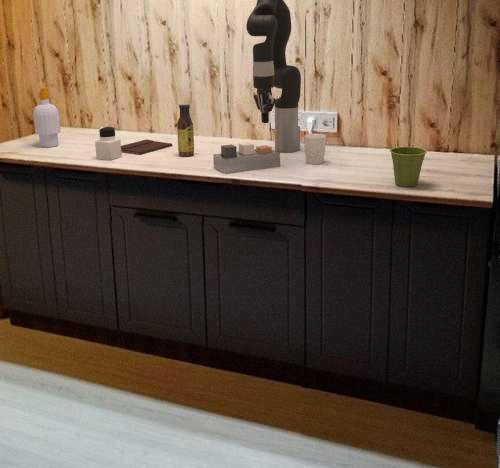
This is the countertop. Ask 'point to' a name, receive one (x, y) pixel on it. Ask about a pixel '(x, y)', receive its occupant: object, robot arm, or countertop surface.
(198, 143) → the countertop surface
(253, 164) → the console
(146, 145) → the notebook
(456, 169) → the countertop surface
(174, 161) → the countertop surface
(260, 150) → the terracotta key
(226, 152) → the charcoal key
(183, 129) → the sauce bottle
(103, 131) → the medicine bottle
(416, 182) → the plant pot
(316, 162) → the grey cup
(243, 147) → the off-white cube
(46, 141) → the soap bottle
